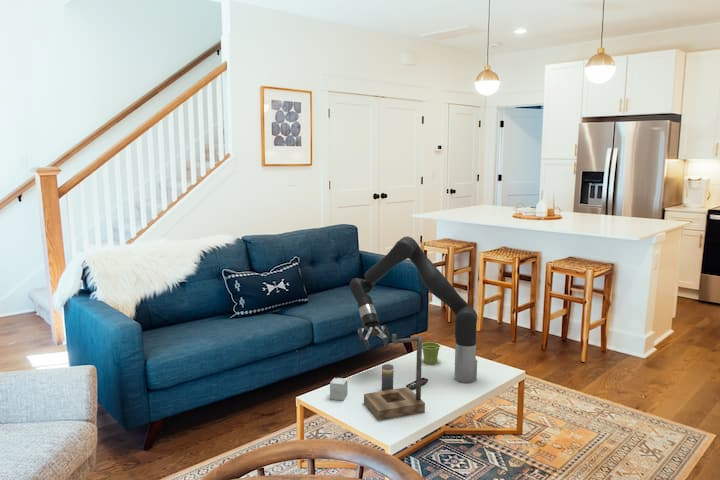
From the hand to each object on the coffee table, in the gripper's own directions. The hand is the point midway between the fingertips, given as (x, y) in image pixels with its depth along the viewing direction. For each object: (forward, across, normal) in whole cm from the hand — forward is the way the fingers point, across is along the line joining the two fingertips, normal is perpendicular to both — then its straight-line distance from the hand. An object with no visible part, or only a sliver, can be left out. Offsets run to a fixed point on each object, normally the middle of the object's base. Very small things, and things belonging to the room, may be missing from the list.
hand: (377, 347), depth 248 cm
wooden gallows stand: (+30, -4, -8) cm, 32 cm away
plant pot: (+3, +33, +19) cm, 38 cm away
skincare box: (+19, -22, +4) cm, 29 cm away
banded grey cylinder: (+19, 0, +3) cm, 19 cm away
